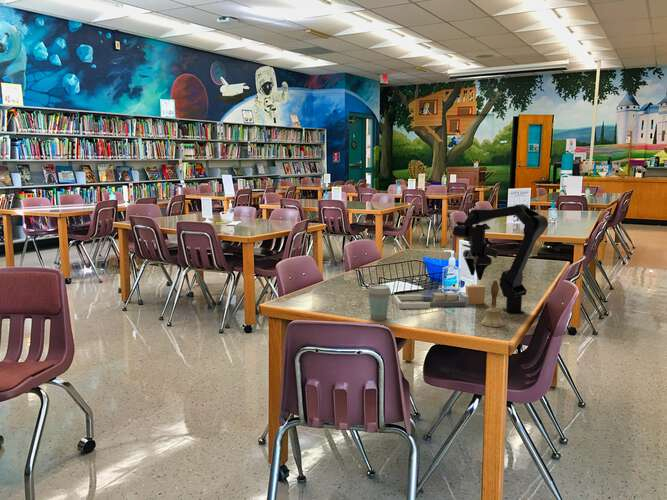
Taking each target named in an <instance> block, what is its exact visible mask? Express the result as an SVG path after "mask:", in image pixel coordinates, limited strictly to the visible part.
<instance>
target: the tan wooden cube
mask: <svg viewBox="0 0 667 500" xmlns="http://www.w3.org/2000/svg"><path fill="white" fill-rule="evenodd" d="M432 296H433V301H432V302H442V301H445V293H444V292H433V293H432Z"/></svg>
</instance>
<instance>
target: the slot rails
mask: <svg viewBox="0 0 667 500" xmlns="http://www.w3.org/2000/svg"><path fill="white" fill-rule="evenodd" d="M422 301H423V302H429V303H430V308H445V307H446V308H448V307H449V308H451V307H457V308H459V307H466V306H467V305H466V302H465V301H460V295H457V301H442V302H433V295H422Z"/></svg>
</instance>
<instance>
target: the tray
mask: <svg viewBox="0 0 667 500" xmlns="http://www.w3.org/2000/svg"><path fill="white" fill-rule="evenodd" d="M392 300H393V301H394V304H395V305H396V306H397V307H398V309H430V308H431V307H430V303H429V302H430V301H426V302H402V301H423V294H393V295H392Z"/></svg>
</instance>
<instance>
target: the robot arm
mask: <svg viewBox="0 0 667 500" xmlns="http://www.w3.org/2000/svg"><path fill="white" fill-rule="evenodd" d="M468 214H469V215H468V216H467V218H466V219H465V221H462V220H457V221H456V224H454V226H453V229H452V233H453V236H454V237H455V238H460V239H469V241H468V244H469V249H465V250H464V251H463V252H462V257H464V258H463V259H464V261H465V263H466V266H467V268H468V270H469V272H470V273H469V274H470V275H471V276H475V273H476V277H477V280H478V281H482V278H483V276H484V273H485V270H486V268H487V267H488V266H490V265H492V262H493V261H492V260H493V259H492V258H491V257H493V258H494V259H497V257H498V254H499V250H498V249H495V248H494V246H493V245H491V244H488V243H487V242H486V230H490V229H491V227H490V226H489V225H488V223H486V222H489V221H492V220H494V219H496V218H497V219H498V218H504V217H511V216H512V217H513V216H516V217H517V218H518V219H519V222H521V223H522V224H523V226H524V227H523V238H522V239H521V243H520V245H519V247H518V250H517V252H516V255H515V257H514V259H513V261H512V264H511V266H510V268H509V269H508V270H504V271H502V273H501V277H500V278H499V283H498V287H499V288H500V290H501V292H502V297H504V298H506V303H505V304H506V305H505V307H503V308H502V310H503V311H505V312H506V313H508V314H525V311H524V310H523V309H522V307H523V306H522V305H523V296H526V294H527V292H528V290H527V288H526V287H525V286H524V285H523V280H524V277H523V275H524V274H523V272H524V269H525V267H526V265H527V263H528V260H529V258H530V257H531V256H530V255H531V253H532V252H533V249H534V246H535V244H536V242H537V240H538V239H539V238H540V237H541V236H542V235H543V234H544V233H545V231H546V229H547V228H548V226H549V221H548V219H547V217H546V216H545V215H541V214H540V213H538V212H537V211H535V210H533V209H531V208H529V207H528V206H527V205H525V204H523V203H522V204H521V203H520V204H515V205H512V206H511V205H510V206H503V207H498V208H477V209H474V208H473V209H471V210H470V211H469V213H468Z"/></svg>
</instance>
